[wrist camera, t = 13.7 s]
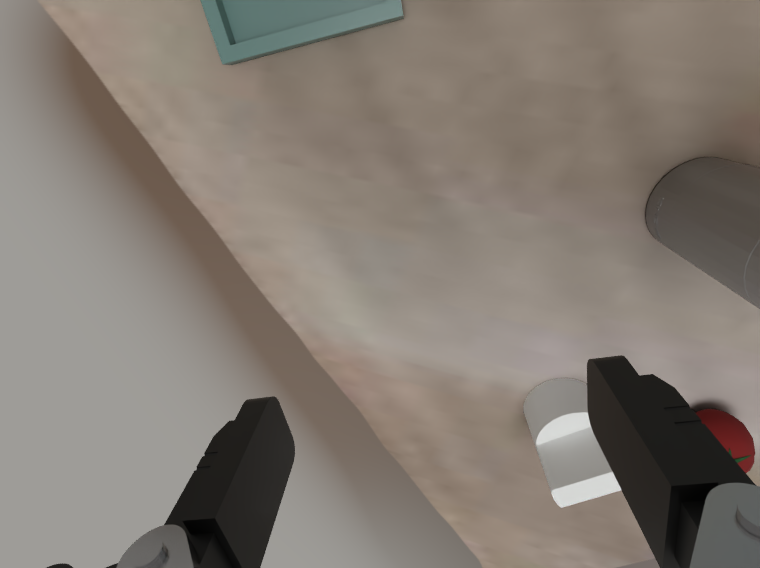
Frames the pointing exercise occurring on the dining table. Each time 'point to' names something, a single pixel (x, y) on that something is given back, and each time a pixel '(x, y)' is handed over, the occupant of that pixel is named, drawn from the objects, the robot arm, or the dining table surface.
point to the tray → (288, 23)
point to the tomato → (730, 436)
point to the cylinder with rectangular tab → (567, 442)
